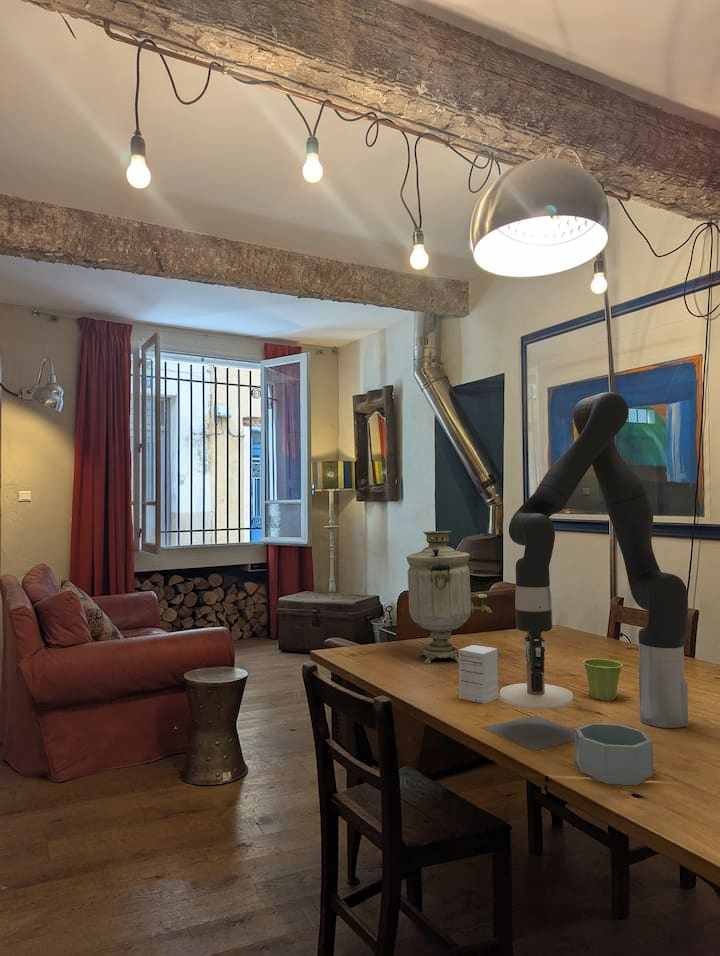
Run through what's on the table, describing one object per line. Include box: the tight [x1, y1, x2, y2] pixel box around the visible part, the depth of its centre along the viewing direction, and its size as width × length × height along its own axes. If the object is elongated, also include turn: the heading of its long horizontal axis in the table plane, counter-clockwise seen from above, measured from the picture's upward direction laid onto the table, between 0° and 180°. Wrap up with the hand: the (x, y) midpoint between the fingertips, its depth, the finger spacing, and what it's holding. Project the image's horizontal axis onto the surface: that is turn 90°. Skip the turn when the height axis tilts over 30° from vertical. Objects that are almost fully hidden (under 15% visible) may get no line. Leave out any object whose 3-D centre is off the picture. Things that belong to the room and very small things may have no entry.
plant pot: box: [582, 658, 624, 702], centre depth 170 cm, size 9×9×9 cm
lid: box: [499, 662, 574, 710], centre depth 143 cm, size 15×15×7 cm
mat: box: [480, 715, 575, 752], centre depth 143 cm, size 16×16×1 cm
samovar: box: [405, 530, 493, 664], centre depth 212 cm, size 30×26×40 cm
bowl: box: [574, 722, 654, 787], centre depth 124 cm, size 13×13×6 cm
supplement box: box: [458, 644, 499, 705], centre depth 169 cm, size 7×7×13 cm
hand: (535, 688), depth 143 cm, fingers closed on lid, 3 cm apart
